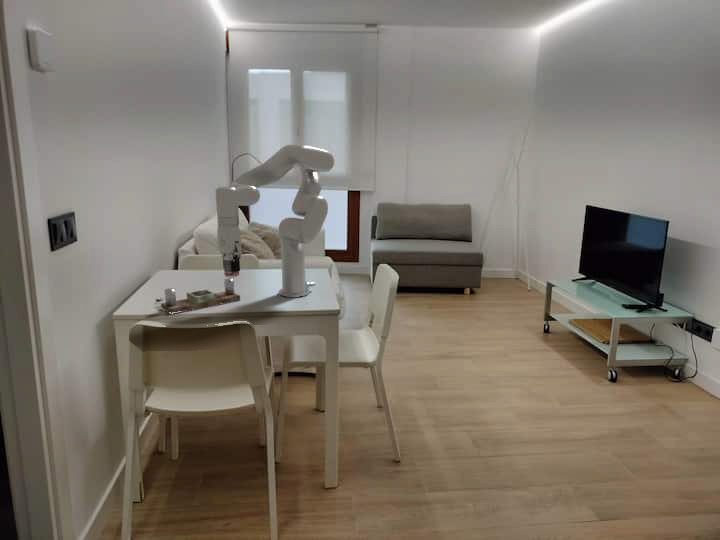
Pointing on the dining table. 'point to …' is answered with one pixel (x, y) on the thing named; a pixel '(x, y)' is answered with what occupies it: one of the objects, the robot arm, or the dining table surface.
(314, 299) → the dining table surface
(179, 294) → the dining table surface
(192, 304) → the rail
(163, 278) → the dining table surface
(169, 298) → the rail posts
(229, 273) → the pill bottle
